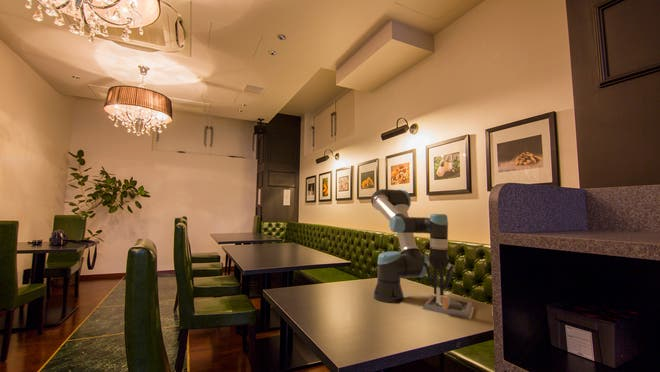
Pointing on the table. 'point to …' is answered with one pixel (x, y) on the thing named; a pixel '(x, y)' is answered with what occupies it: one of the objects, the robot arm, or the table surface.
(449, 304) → the grey dome with handle
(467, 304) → the grey rectangular tray
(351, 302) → the table surface
